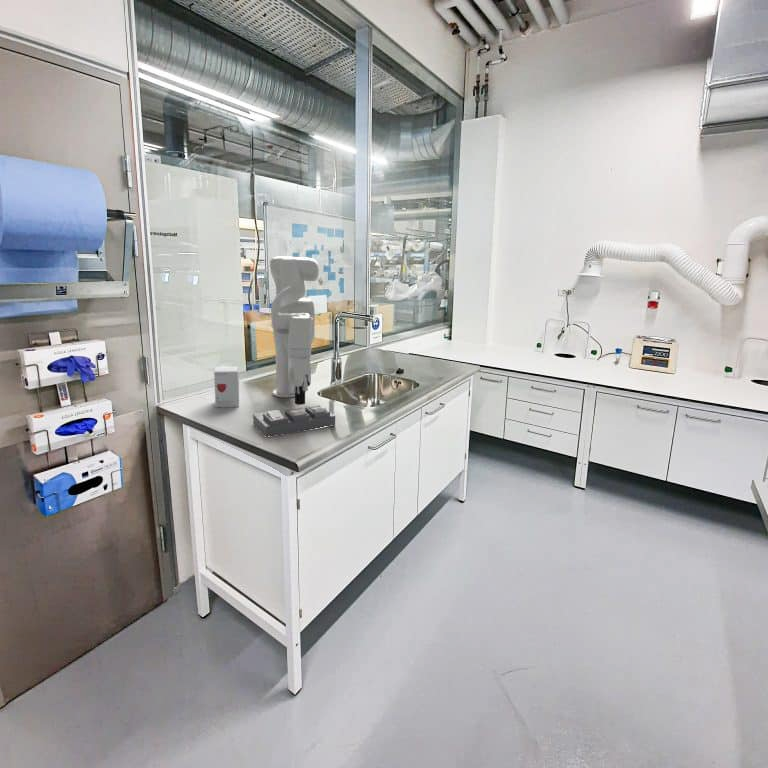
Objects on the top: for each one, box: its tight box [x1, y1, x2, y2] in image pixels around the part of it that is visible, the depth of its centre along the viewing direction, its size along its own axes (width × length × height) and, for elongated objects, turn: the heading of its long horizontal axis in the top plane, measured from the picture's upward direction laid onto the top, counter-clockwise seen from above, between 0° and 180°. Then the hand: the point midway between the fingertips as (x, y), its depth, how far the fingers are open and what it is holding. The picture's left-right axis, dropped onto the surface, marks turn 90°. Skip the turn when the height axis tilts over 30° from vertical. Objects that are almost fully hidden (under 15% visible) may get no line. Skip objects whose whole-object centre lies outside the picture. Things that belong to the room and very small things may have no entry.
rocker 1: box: [266, 409, 284, 420], centre depth 156 cm, size 6×4×1 cm, turn 33°
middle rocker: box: [289, 410, 306, 416], centre depth 161 cm, size 6×4×1 cm, turn 33°
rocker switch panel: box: [252, 404, 336, 438], centre depth 163 cm, size 14×26×6 cm, turn 123°
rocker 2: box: [309, 406, 327, 413], centre depth 165 cm, size 6×4×1 cm, turn 33°
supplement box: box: [213, 366, 240, 409], centre depth 181 cm, size 9×9×15 cm
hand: (299, 403), depth 157 cm, fingers closed
